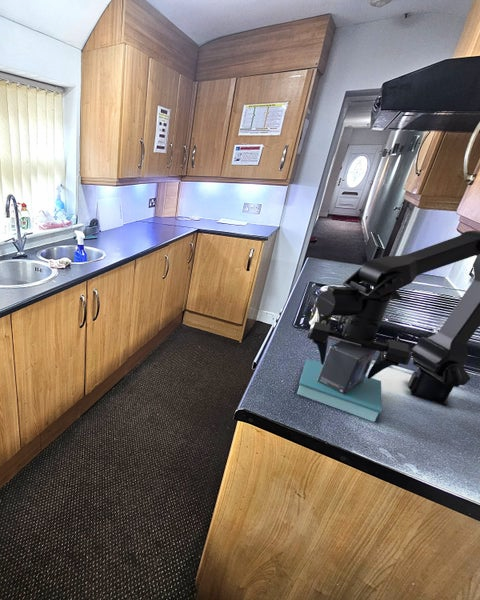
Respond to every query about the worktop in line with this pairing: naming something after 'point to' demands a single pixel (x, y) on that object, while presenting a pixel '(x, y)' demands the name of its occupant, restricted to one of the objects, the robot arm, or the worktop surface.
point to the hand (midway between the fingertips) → (344, 370)
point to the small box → (345, 366)
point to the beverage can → (318, 316)
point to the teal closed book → (355, 401)
